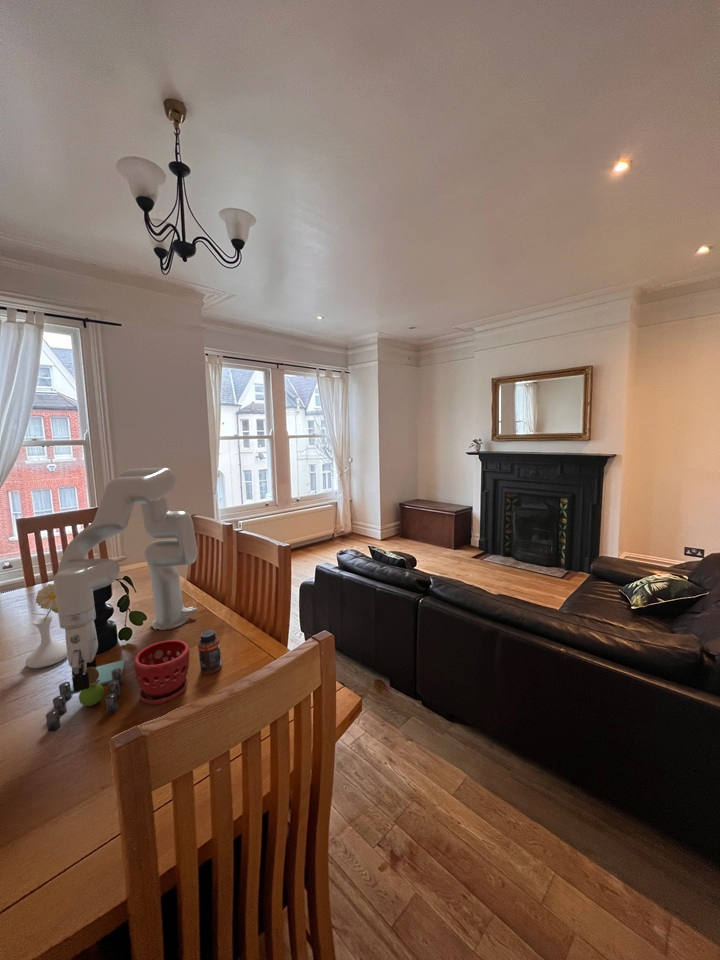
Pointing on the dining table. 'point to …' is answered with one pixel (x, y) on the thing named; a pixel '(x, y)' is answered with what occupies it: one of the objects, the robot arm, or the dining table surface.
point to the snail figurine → (92, 689)
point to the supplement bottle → (209, 652)
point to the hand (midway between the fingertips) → (85, 678)
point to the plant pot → (162, 671)
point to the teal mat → (107, 672)
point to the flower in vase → (46, 633)
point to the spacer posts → (66, 694)
